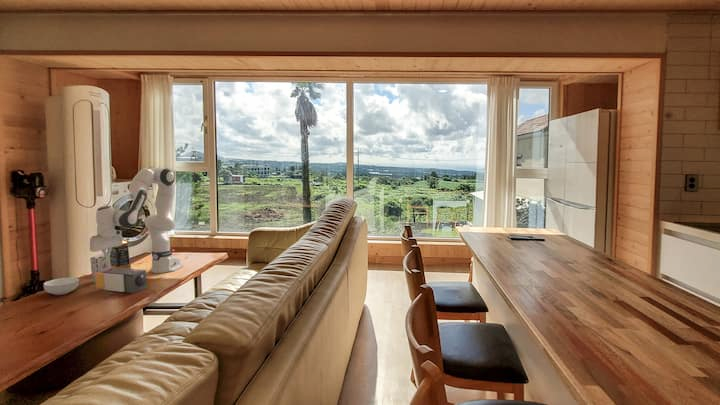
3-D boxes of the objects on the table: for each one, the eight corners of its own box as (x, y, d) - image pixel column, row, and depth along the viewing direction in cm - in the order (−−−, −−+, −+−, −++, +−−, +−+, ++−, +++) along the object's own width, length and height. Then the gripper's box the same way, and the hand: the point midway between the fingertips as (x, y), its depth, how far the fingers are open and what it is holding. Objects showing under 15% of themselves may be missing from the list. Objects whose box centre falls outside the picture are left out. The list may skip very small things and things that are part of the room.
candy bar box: (106, 277, 269) (104, 253, 267) (112, 278, 268) (110, 253, 266) (91, 283, 258) (89, 257, 256) (98, 283, 257) (96, 258, 255)
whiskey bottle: (109, 271, 285) (106, 225, 281) (123, 267, 293) (120, 223, 289) (117, 273, 279) (114, 227, 276) (131, 269, 288) (129, 224, 284)
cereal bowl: (86, 290, 245) (85, 278, 244) (58, 299, 229) (57, 287, 228) (66, 287, 250) (65, 275, 249) (37, 295, 235) (36, 283, 234)
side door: (124, 291, 241) (123, 274, 239) (122, 292, 239) (121, 275, 238) (98, 288, 246) (97, 272, 245) (96, 289, 244) (94, 273, 243)
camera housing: (120, 284, 254) (119, 266, 253) (148, 288, 248) (147, 269, 247) (106, 290, 245) (105, 270, 243) (135, 293, 239) (134, 273, 237)
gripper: (94, 236, 236) (95, 260, 237) (123, 230, 255) (124, 252, 257) (85, 236, 237) (87, 259, 239) (115, 230, 257) (116, 251, 258)
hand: (107, 255), depth 248 cm, fingers closed
